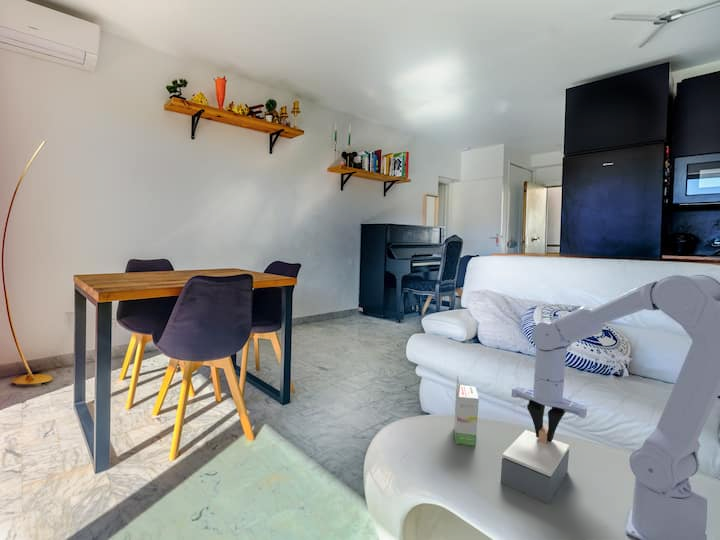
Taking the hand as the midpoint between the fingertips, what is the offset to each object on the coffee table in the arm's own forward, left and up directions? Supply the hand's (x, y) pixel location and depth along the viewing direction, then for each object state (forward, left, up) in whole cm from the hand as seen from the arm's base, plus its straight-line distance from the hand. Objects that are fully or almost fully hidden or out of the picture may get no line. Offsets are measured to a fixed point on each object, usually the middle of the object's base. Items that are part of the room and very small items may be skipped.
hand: (544, 437), depth 80 cm
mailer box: (0, +5, -6) cm, 8 cm away
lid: (0, +5, -1) cm, 5 cm away
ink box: (+18, +1, -7) cm, 19 cm away
